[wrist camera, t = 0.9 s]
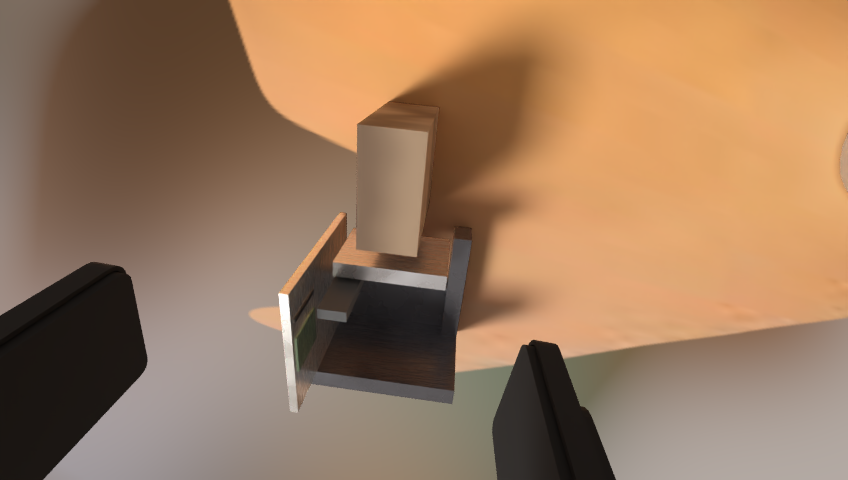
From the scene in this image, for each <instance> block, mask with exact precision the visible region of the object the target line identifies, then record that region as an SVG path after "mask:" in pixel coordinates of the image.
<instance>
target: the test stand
mask: <svg viewBox="0 0 848 480" xmlns="http://www.w3.org/2000/svg"><path fill="white" fill-rule="evenodd" d="M346 216H347V214H346V213H342V212H340V213H339V214H338V216H337V217H336V218H335V220H334V221H333V222H332V224H331V225H330V226H329V228H328V229H327V230H326V232H325V233H324V234H323V236H322V237H321V238H320V239H319V241H318V242H317V244H316V245H315V246H314V247H313V249H312V250H311V251H310V253H309V254H308V255H307V257H306V258H305V259H304V261H303V262H302V263H301V265H300V266H299V267H298V269H297V270H296V271H295V272H294V274H293V275H292V277H291V278H290V279H289V280H288V282H287V283H286V284H285V286H284V287H283V288H282V290H281V291H280V292H279V303H280V313H281V323H282V333H283V344H284V353H285V364H286V373H287V384H288V394H289V405H290V411H291V412H299V410H300V407H301V405H302V403H303V401H304V399H305V396H306V394H307V392H308V390H309V388H310V386H311V384H316V385H324V386H330V387H337V388H345V389H352V390H359V391H366V392H372V393H380V394H386V395H394V396H400V397H407V398H414V399H421V400H428V401H435V402H442V403H449V404H452V401H453V395H454V381H455V354H456V335H457V329H458V323H459V316H460V310H461V304H462V298H463V292H464V286H465V280H466V274H467V268H468V262H469V256H470V250H471V244H472V228H465V227H457V226H455V229H454V236H453V243H452V251H451V258H450V265H449V272H448V279H447V282H446V290H445V291H444V290H436V289H428V288H421V287H413V286H405V285H398V284H390V283H382V282H375V281H367V280H365V281H364V283H363V285H362V288H361V290H360V292H359V295H358V297H357V299H356V301H355V304H354V306H353V308H352V311H351V313H350V315H349V318H348V320H347V322H340V321H333V320H325V319H318V318H317V308H318V306H319V304H320V303H321V301H322V299H323V297H324V296H325V294H326V292H327V290H328V289H329V287H330V285H331V283H332V282H333V280H334V278H335V276H333V261H334V259H335V258H336V256H337V254H338V253H339V251H340V249H341V248H342V246H343V245H344V243H345V241H346V240H347V226H346V225H347V220H346V219H347V217H346Z"/></svg>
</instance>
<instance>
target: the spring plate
mask: <svg viewBox="0 0 848 480" xmlns="http://www.w3.org/2000/svg"><path fill="white" fill-rule="evenodd" d="M449 249H450V240H449V239H440V238H432V237H424V236H421V241H420V245H419V249H418V254H417V257H411V256H403V255H396V254H388V253H380V252H372V251H364V250H356V228H353V230H352V232H351V233H350V235H349V236H348V238H347V240H346V241H345V243H344V245H343V246H342V248H341V249H340V251H339V253H338V254H337V256H336V258H335V259H334V261H333V276H336V277H344V278H352V279H359V280H367V281H375V282H382V283H390V284H398V285H405V286H413V287H421V288H428V289H436V290H444V291H445V290H446V282H447V274H448V261H449Z"/></svg>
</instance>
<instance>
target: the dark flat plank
mask: <svg viewBox="0 0 848 480" xmlns="http://www.w3.org/2000/svg"><path fill="white" fill-rule="evenodd" d="M364 281H365V280H359V279H352V278H344V277H336V276H335V278H334V280H333V282H332V283H331V285H330V287H329V289H328V290H327V292H326V294H325V296H324V297H323V299H322V301H321V303H320V304H319V306H318V308H317V318H318V319H325V320H333V321H340V322H347V320H348V318H349V315H350V313H351V311H352V308H353V306H354V304H355V301H356V299H357V297H358V295H359V292H360V290H361V288H362V285H363V283H364Z"/></svg>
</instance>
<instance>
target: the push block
mask: <svg viewBox="0 0 848 480" xmlns="http://www.w3.org/2000/svg"><path fill="white" fill-rule="evenodd" d="M438 114H439V107H434V106H425V105H416V104H407V103H397V102H388V103H386V104H385V105H383V106H382V107H381V108H379V109H378V110H377V111H375V112H374V113H372V114H371V115H370V116H368V117H367V118H365V119H364V120H363V121H361V122H360V123H358V124H357V207H356V208H357V209H356V250H364V251H372V252H380V253H388V254H396V255H403V256H411V257H417V254H418V249H419V245H420V241H421V236H422V232H423V228H424V223H425V219H426V215H427V210H428V206H429V202H430V192H431V182H432V172H433V163H434V153H435V143H436V134H437V124H438Z"/></svg>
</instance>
